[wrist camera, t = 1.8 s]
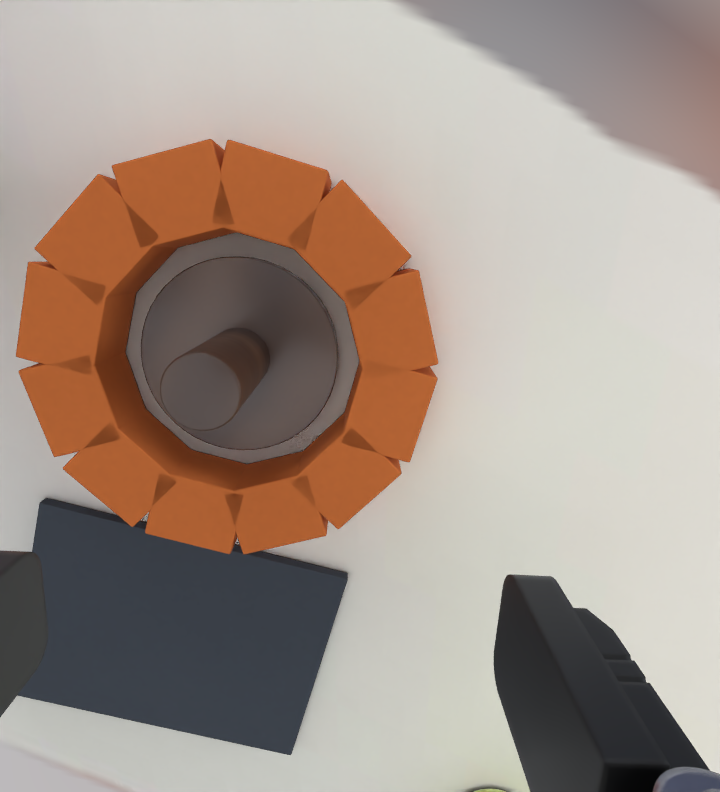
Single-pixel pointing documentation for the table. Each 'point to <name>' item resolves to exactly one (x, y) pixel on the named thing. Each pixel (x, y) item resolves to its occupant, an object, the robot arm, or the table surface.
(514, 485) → the table surface
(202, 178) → the ring
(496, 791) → the tube
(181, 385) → the disc with centre peg
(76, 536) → the mat
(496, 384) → the table surface
